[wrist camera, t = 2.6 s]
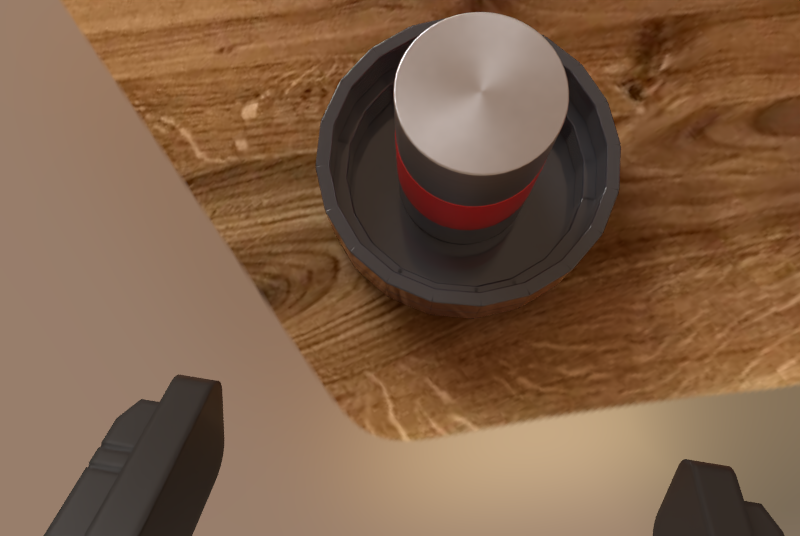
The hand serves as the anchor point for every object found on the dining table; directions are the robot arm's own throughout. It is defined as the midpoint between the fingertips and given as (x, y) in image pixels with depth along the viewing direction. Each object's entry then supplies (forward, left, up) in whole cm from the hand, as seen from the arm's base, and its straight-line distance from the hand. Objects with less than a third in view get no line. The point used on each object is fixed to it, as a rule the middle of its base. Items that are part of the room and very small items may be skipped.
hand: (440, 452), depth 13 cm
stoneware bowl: (+8, +9, -21) cm, 24 cm away
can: (+8, +9, -20) cm, 24 cm away
